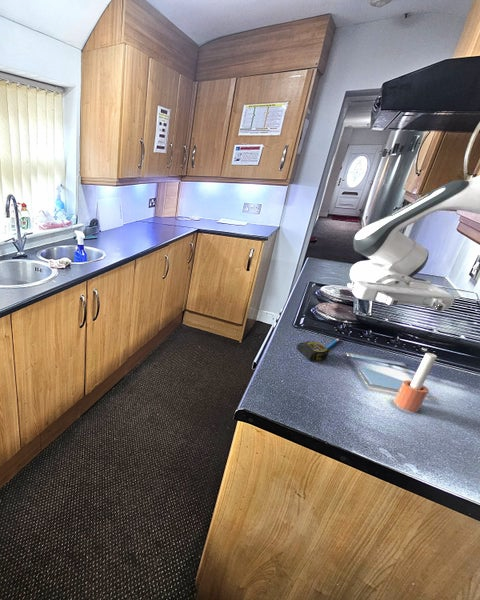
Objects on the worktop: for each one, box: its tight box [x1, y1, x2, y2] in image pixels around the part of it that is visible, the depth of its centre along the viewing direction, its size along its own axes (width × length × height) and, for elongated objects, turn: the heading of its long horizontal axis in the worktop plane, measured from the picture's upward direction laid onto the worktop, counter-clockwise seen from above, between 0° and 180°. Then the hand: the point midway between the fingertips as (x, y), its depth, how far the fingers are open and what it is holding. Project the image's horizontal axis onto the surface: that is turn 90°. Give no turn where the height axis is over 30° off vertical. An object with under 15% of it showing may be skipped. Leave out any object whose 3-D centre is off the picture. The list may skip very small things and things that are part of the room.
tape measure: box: [296, 340, 329, 362], centre depth 97 cm, size 7×7×4 cm
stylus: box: [410, 352, 438, 390], centre depth 76 cm, size 2×2×14 cm
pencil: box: [326, 338, 340, 350], centre depth 103 cm, size 1×17×1 cm, turn 125°
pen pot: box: [393, 380, 430, 413], centre depth 77 cm, size 4×4×6 cm
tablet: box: [344, 352, 439, 401], centre depth 90 cm, size 14×18×1 cm
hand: (417, 305), depth 81 cm, fingers open, 8 cm apart
